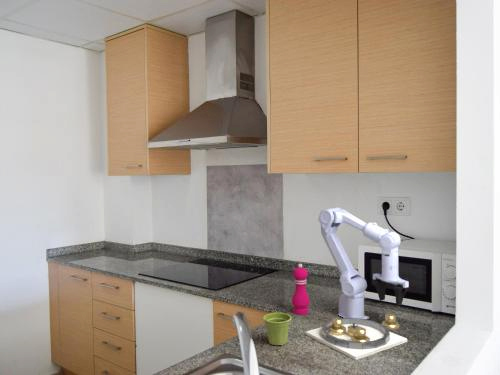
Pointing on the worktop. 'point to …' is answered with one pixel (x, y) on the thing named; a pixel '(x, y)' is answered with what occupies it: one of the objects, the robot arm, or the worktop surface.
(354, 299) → the robot arm
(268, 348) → the worktop surface
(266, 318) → the plant pot
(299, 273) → the pepper mill
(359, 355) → the board
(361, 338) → the sun and planets
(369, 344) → the ring gear
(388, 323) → the gear
